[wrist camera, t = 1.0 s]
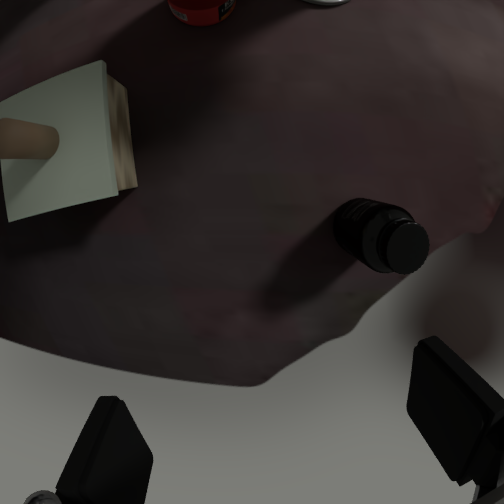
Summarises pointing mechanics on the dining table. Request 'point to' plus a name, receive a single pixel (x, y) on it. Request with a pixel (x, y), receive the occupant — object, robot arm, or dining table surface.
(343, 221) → the supplement bottle
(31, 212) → the lid
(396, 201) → the dining table surface
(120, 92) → the pine box
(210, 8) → the canned food
